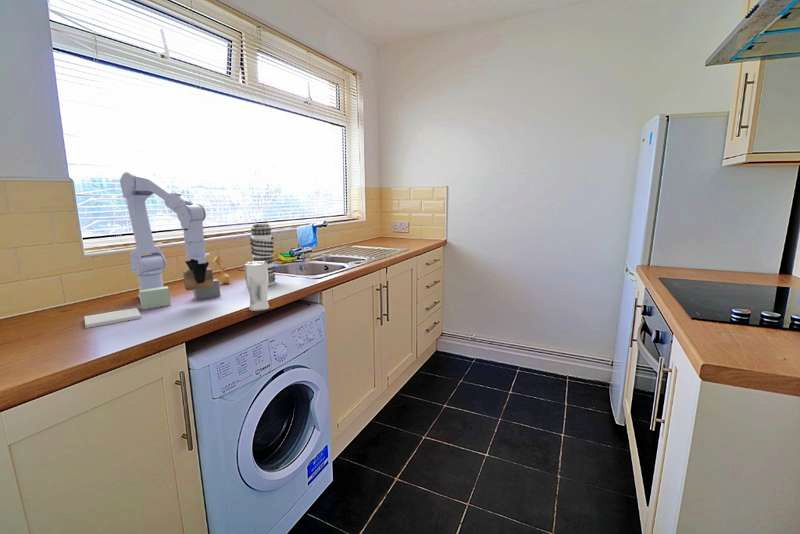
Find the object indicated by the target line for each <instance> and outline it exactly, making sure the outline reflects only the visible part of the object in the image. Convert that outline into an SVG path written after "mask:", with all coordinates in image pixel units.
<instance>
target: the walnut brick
mask: <svg viewBox="0 0 800 534" xmlns="http://www.w3.org/2000/svg"><path fill="white" fill-rule="evenodd" d="M182 273H183V281H184V283H183V284H184V290H186V291H187V292H188V291H193V290H195V289H202V288H209V287H214V283H213V279H214V276H213V275H214V274H213V269H212V268H210V267H207V269H206V274H205V281H204V283H199V284H197V282H196V280H195V276H194V273H193V270H190V269H189V270H183V271H182Z"/></svg>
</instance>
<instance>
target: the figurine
mask: <svg viewBox="0 0 800 534" xmlns="http://www.w3.org/2000/svg"><path fill="white" fill-rule="evenodd" d="M213 259H214V260H213V261H212V263H213V266H214V268H215V269H216V270H217V269H218V268H219V269H220V274H221V276H220V279H219V280H220V282H221V283H222V284H224V285H226V284H229V283H231V279H232V278H231V277H232V276H230V275H229V274H227V273H225V269H226V266H228V265H227V263H226V261H224V260H223V259H222V257H221V255H220V254H219V255H217V256H215V257H213ZM221 262H222V263H224V264H225V266H224V265H223V264H222V263H221ZM216 265H217V266H216Z"/></svg>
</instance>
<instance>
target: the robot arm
mask: <svg viewBox="0 0 800 534" xmlns="http://www.w3.org/2000/svg"><path fill="white" fill-rule="evenodd" d="M161 181H162V180H161V179H160V176H158V175H157V174H155V173H142V172H140V173H139V172H129V171H125V172H123V174H122V175H121V177H120V180H119V183H120V189H121V192H122V197H123V198H124V199H125V202H126V205H127V209H128V215H129V219H130V223H131V227H132V232H133V237H134V241H135V245H136V247H135V248H134V249H133V250H132V251H131V252H130V253H129V260H130V262H129V267H130V270H131V272H133V273H134V274H135V275H136V276H137V277H138V278H137V280H138V286H139V290H143V289H151V288H158V287H164V281H163V272H164V270H165V269H166V267H167V259H166V257H165V256H164V253H163V250H162V249H161V248H159V247H158V246H156V245H155V243H154V239H153V234H152V229H151V224H150V219H149V216H148V211H147V206H146V201H147V199H150V198H151V197H152V196H153V195H156V196H158V198H161V199H162V200H163V201H164V205H165V206H166V207H167V208H168V209H170V210H171V211H173V213H175V214H176V216H177V219H178V220H179V222H180V227H181V229H183V230H182V231H183V237H184V238H183V239H184V247H185V258H186V259H187V260H185V264H186V265H187V267H188V269H189V270H193V273H194V276H195V280H196V282H197V284H199V283H204V281H205V274H206V269H207V268H209V264H210V262H209V261H206V258H207V257H209V256H211V254H210V253H206V244H205V235H204V224H203V222H204V221H205V220H206V217H207V216H206V215H207V212H206V210H205V208H204V206H203V205H202V204H200V203H196V204H195V203H193V202H192V200H189V199H187V198H186V197H185V196H183V195H182V193H181V192H180V191H172V190H170V188H168V187H167V186H166V185H164V183H163V182H161ZM137 297H138V298H139V299H140V295H139V294H137Z"/></svg>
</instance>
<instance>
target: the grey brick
mask: <svg viewBox="0 0 800 534" xmlns="http://www.w3.org/2000/svg"><path fill="white" fill-rule="evenodd" d="M219 280H220V279H218V278H213V283H214V287H209V288H202V289H195V290H192V293H193V299H194V298H195V299H194V300H195V301H199V299H200V300H206V299H213V298H217V297H221V289H220V287H221V286H220V281H219ZM205 298H206V299H205Z"/></svg>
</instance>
